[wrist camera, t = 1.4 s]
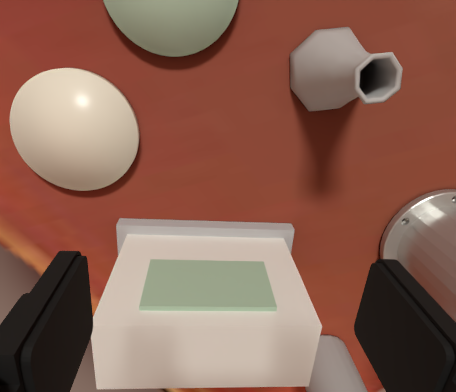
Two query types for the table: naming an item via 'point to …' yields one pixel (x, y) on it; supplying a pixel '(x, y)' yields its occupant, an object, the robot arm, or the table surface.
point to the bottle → (334, 368)
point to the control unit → (204, 308)
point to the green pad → (172, 23)
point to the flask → (341, 71)
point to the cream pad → (74, 128)
